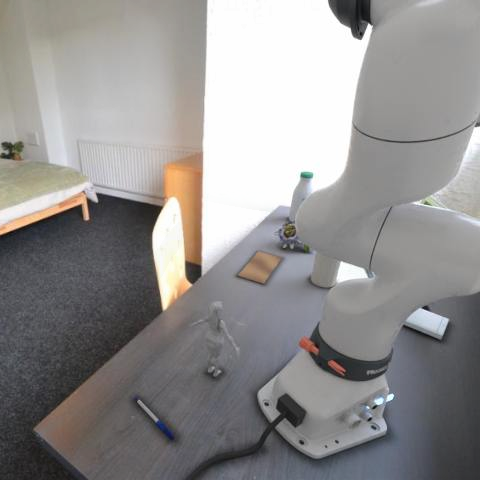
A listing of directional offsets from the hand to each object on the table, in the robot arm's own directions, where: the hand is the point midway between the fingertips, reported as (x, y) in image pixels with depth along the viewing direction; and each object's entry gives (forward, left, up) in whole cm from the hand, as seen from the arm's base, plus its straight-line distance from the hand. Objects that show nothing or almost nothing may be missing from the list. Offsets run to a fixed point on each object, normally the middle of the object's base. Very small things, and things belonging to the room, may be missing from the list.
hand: (459, 151), depth 65 cm
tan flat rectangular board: (-13, +35, -41) cm, 55 cm away
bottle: (-3, +20, -41) cm, 45 cm away
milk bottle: (+26, +55, -41) cm, 73 cm away
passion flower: (+7, +40, -41) cm, 57 cm away
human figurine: (-51, +8, -41) cm, 66 cm away
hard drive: (+2, -2, -41) cm, 41 cm away
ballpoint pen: (-66, +5, -41) cm, 78 cm away
